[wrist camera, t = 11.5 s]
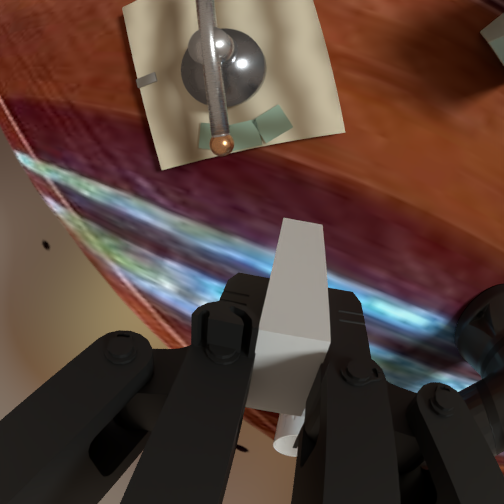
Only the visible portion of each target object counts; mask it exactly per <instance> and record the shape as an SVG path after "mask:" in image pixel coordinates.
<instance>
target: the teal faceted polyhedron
mask: <svg viewBox="0 0 504 504" xmlns="http://www.w3.org/2000/svg"><path fill="white" fill-rule="evenodd" d="M480 34H481V35H482V36H483V38H484V39H485V40H486V42H487V43H488V44H489V46H490V47H491V49H492V50H493V52H494V53H495V54H496V56H497V57H498V59H499V60H500V62H501V63H502V65H503V67H504V12H503V13H502V14H501V15H500V16H499V17H497V18H496V19H495V20H494V21H492V22H491V23H490V24H489V25H487V26H486V27H485V28H484V29H483V30H481V31H480Z"/></svg>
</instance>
